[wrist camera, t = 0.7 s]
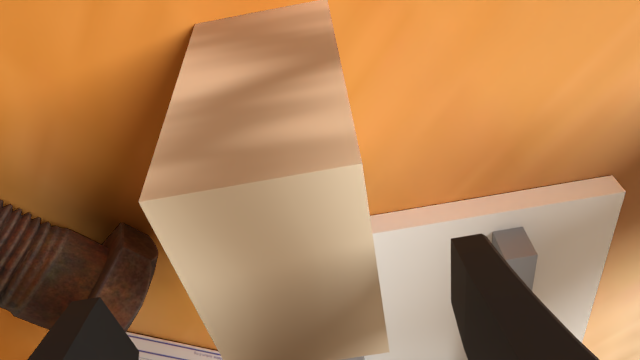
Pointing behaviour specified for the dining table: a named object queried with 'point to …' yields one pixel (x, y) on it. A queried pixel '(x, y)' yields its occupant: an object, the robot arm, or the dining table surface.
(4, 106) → the dining table surface
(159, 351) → the medicine box
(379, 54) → the dining table surface
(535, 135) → the dining table surface
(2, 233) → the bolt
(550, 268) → the rail plate
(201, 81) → the block
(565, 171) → the dining table surface
